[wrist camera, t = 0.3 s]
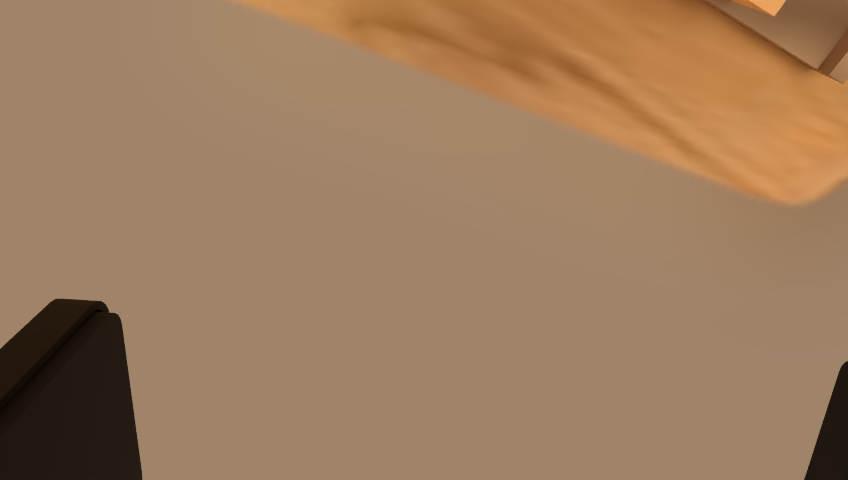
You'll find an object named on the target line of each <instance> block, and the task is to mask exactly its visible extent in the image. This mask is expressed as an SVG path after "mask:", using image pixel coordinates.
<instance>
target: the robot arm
mask: <svg viewBox="0 0 848 480" xmlns="http://www.w3.org/2000/svg"><path fill="white" fill-rule="evenodd" d="M0 480H142V470H141V463H140V455H139V448H138V440H137V433H136V425H135V418H134V410H133V403H132V396H131V388H130V381H129V373H128V366H127V360H126V351H125V344H124V336H123V329H122V323H121V319H120V317H119V316H118V315H117V314H116V313H109V310H108V308H107V306H106V304H104V303H103V302H101V301H88V300H74V299H55V300H53V301H52V302H50V303H49V304H48V305H47V306H46V307H45V308H44V309H43V310H42V311H41V312H40V313H38V314H37V315H36V316H35V317H34V318H33V319H32V320H31V321H30V322H29V323H28V324H27V325H25V326H24V327H23V328H22V329H21V330H20V331H19V332H18V333H17V334H16V335H15V336H14V337H13V338H12V339H10V340H9V341H8V342H7V343H6V344H5V345H4V346H3V347H2V348H1V349H0ZM804 480H848V361H847V362H845V363H844V364H843V365H842V367H841V369H840V371H839V374H838V377H837V380H836V383H835V386H834V389H833V392H832V396H831V399H830V402H829V405H828V408H827V411H826V414H825V417H824V420H823V424H822V427H821V430H820V433H819V436H818V439H817V442H816V445H815V448H814V451H813V454H812V457H811V461H810V464H809V467H808V470H807V473H806V476H805V479H804Z"/></svg>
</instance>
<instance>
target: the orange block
mask: <svg viewBox="0 0 848 480" xmlns="http://www.w3.org/2000/svg"><path fill="white" fill-rule="evenodd" d="M731 1H733V2H736V3H739V4H741V5H744V6H747V7H750V8H752V9H755V10H758V11H761V12H763V13H766V14H769V15H772V16H775V15H776V13H777V12H778V11H779V9H780V8H781V7H782V5H783V4H784V3H785V1H786V0H731Z"/></svg>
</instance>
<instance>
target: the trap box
mask: <svg viewBox="0 0 848 480" xmlns="http://www.w3.org/2000/svg"><path fill="white" fill-rule="evenodd" d="M702 1H704V2H706V3H707V4H709V5H710V6H712V7H714V8H715V9H717V10H718V11H720V12H722V13H723V14H725V15H726V16H728V17H730V18H731V19H733V20H734V21H736V22H738V23H739V24H741V25H742V26H744V27H746V28H747V29H749V30H750V31H752V32H754V33H755V34H757V35H758V36H760V37H762V38H763V39H765V40H766V41H768V42H770V43H771V44H773V45H774V46H776V47H778V48H779V49H781V50H782V51H784V52H786V53H787V54H789V55H790V56H792V57H794V58H795V59H797V60H798V61H800V62H802V63H803V64H805V65H806V66H808V67H810V68H811V69H813V70H815V71H817V72H819V73H821V74H823V75H826V76H828V77H830V78H832V79H834V80H836V81H838V82H840V83H842V84H844V83H845V81H846V80H847V79H848V0H786V1H785V3H784V4H783V5H782V7H781V8H780V9H779V11H778V12H777V13H776V15H775V16H772V15H769V14H766V13H763V12H761V11H758V10H755V9H752V8H750V7H747V6H744V5H741V4H739V3H736V2H733V1H731V0H702Z"/></svg>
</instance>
